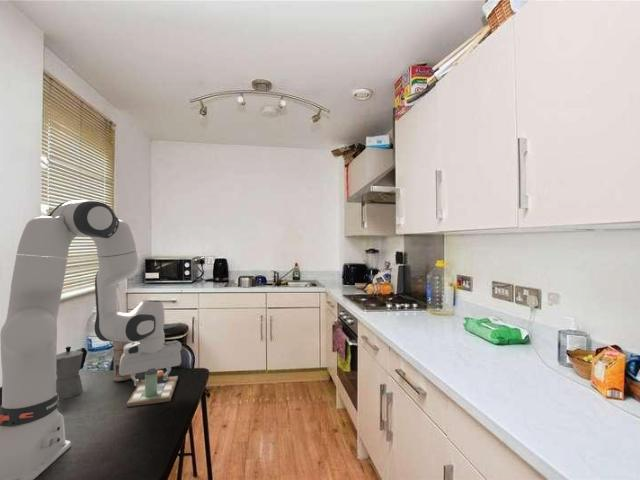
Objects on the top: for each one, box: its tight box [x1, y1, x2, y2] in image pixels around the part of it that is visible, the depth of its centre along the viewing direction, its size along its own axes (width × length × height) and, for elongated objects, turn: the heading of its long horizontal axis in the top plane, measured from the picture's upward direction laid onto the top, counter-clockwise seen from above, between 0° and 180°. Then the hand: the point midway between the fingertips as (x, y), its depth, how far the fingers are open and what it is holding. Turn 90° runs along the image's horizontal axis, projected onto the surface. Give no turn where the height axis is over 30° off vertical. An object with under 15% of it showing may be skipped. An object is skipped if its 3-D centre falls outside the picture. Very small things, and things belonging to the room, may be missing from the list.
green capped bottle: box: [144, 368, 159, 397], centre depth 122 cm, size 4×4×10 cm
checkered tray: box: [126, 372, 179, 407], centre depth 129 cm, size 22×14×3 cm, turn 17°
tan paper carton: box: [112, 341, 137, 382], centre depth 143 cm, size 8×8×20 cm
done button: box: [157, 369, 164, 378], centre depth 136 cm, size 4×4×2 cm
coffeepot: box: [56, 346, 88, 400], centre depth 129 cm, size 15×9×18 cm, turn 174°
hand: (151, 382), depth 122 cm, fingers open, 8 cm apart
